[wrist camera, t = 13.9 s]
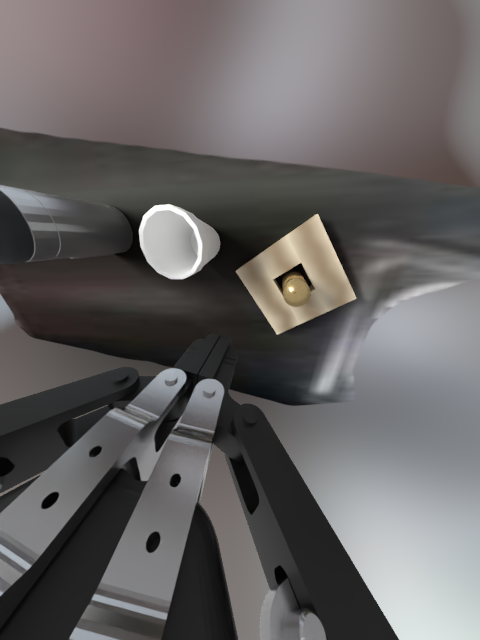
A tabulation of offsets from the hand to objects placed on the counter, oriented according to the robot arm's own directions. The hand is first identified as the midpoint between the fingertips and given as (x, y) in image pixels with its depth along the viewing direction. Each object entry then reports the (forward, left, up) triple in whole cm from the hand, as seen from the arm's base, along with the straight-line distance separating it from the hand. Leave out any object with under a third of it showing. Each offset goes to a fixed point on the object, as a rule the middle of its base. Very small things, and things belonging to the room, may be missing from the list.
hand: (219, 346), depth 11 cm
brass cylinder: (+5, -5, -27) cm, 28 cm away
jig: (+5, -5, -27) cm, 28 cm away
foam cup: (-6, +11, -27) cm, 30 cm away
